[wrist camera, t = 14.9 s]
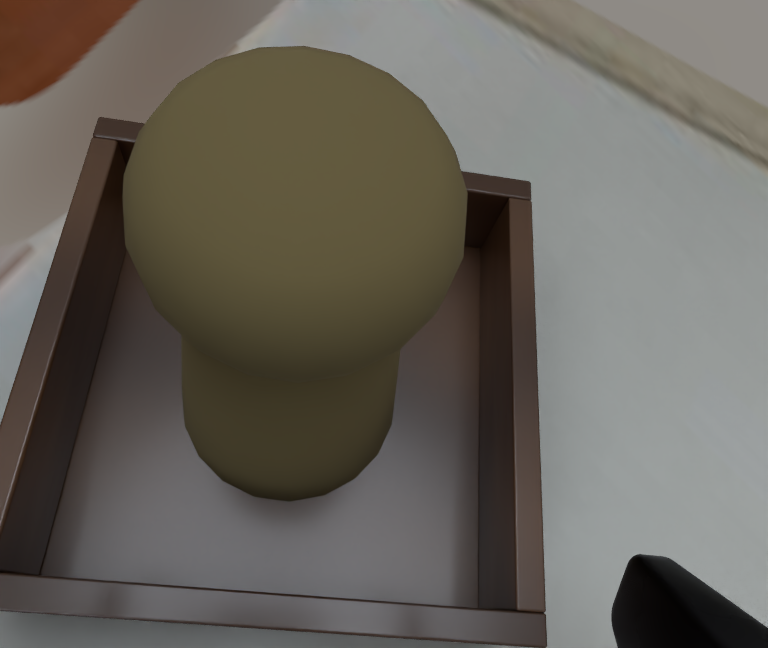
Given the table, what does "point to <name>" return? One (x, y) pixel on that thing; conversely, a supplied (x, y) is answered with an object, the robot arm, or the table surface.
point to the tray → (261, 515)
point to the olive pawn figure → (293, 256)
